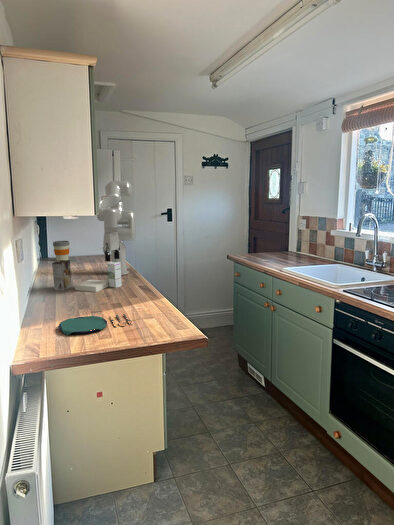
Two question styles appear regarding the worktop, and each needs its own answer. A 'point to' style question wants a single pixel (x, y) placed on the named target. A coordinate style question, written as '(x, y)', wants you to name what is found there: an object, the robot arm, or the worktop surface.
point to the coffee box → (62, 275)
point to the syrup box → (114, 274)
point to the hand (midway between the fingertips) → (112, 260)
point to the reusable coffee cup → (61, 250)
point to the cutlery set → (84, 324)
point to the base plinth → (91, 285)
